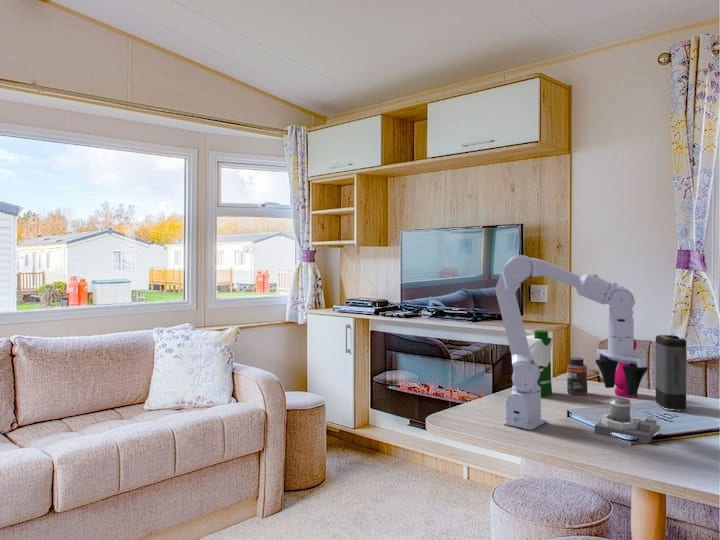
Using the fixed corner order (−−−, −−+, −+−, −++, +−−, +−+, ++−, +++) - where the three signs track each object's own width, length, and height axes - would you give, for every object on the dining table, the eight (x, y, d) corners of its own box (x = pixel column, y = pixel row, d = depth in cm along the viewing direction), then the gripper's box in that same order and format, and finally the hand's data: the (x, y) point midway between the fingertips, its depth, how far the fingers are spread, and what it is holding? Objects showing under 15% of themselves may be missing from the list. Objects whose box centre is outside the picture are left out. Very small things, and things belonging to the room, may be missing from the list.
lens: (634, 426, 135) (634, 401, 135) (618, 427, 134) (618, 403, 134) (622, 420, 140) (622, 397, 139) (606, 422, 139) (606, 398, 139)
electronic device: (688, 412, 153) (688, 340, 152) (664, 411, 154) (664, 339, 154) (676, 403, 162) (676, 335, 161) (654, 402, 163) (654, 334, 163)
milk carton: (539, 398, 169) (539, 333, 169) (515, 392, 177) (514, 330, 176) (556, 393, 175) (556, 330, 174) (532, 388, 182) (531, 328, 181)
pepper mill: (608, 393, 174) (607, 330, 173) (624, 391, 177) (624, 328, 176) (627, 399, 167) (627, 333, 167) (644, 396, 170) (644, 331, 170)
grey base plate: (647, 444, 128) (647, 425, 128) (594, 433, 136) (594, 415, 136) (660, 433, 135) (660, 415, 135) (609, 423, 144) (609, 407, 144)
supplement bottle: (584, 391, 177) (583, 356, 177) (590, 396, 171) (589, 359, 171) (564, 391, 178) (564, 356, 177) (570, 396, 172) (569, 359, 172)
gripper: (657, 339, 130) (657, 396, 131) (612, 331, 144) (612, 383, 145) (632, 341, 128) (632, 399, 129) (590, 332, 142) (590, 385, 143)
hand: (620, 391), depth 137 cm, fingers open, 7 cm apart
